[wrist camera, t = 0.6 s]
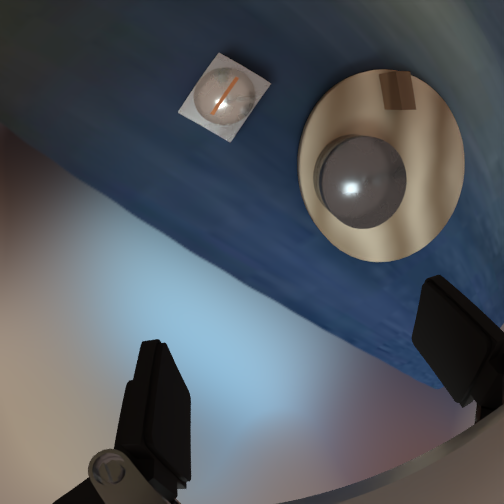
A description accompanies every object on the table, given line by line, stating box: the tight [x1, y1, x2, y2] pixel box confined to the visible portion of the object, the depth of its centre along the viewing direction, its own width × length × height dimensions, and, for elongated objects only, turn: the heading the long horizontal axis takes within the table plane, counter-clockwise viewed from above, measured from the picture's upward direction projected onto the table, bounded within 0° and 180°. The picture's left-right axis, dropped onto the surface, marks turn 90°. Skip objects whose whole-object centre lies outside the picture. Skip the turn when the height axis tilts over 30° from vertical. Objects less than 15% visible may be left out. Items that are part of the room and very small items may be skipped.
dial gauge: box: [178, 53, 271, 142], centre depth 22 cm, size 6×5×4 cm
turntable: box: [297, 69, 465, 262], centre depth 25 cm, size 20×20×4 cm
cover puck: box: [313, 134, 407, 229], centre depth 24 cm, size 8×8×3 cm
